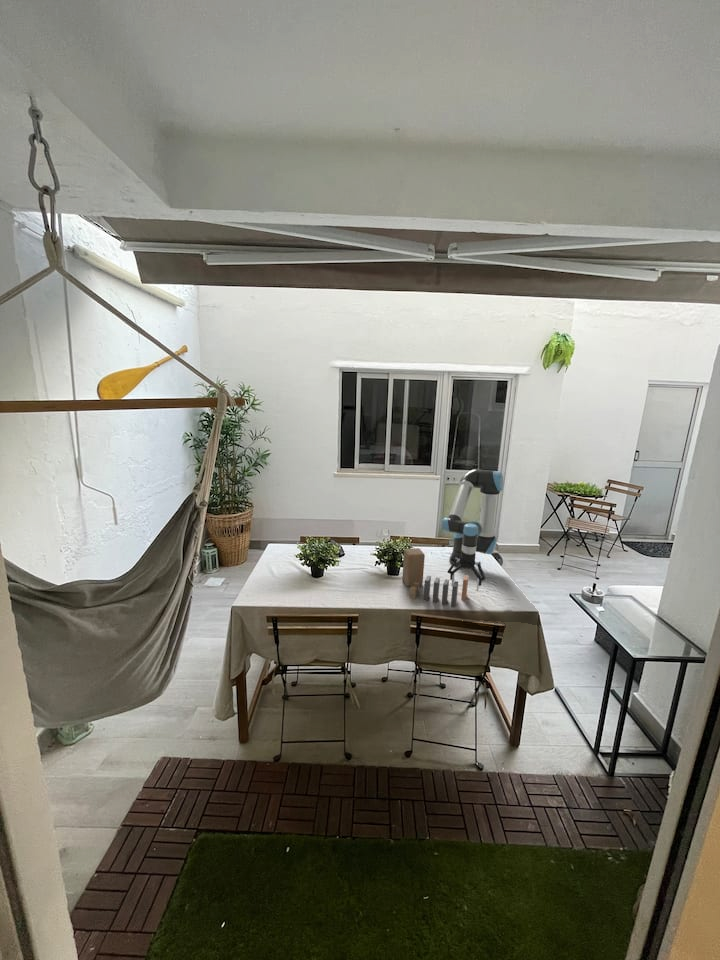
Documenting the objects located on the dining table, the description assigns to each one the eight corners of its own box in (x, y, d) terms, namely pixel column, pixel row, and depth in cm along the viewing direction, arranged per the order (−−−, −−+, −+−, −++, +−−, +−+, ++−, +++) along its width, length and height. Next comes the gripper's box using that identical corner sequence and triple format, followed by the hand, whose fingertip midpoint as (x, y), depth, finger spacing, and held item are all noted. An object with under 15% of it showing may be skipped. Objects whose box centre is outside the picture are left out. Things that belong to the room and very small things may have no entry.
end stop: (413, 591, 233) (414, 581, 232) (418, 592, 232) (419, 582, 230) (409, 597, 226) (410, 587, 224) (414, 599, 225) (415, 589, 223)
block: (406, 587, 237) (408, 555, 233) (401, 579, 247) (403, 548, 242) (423, 585, 239) (425, 554, 235) (417, 578, 249) (419, 547, 244)
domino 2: (432, 602, 222) (433, 582, 219) (434, 597, 227) (436, 577, 225) (435, 602, 221) (437, 582, 218) (438, 597, 227) (439, 578, 224)
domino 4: (450, 606, 218) (452, 586, 216) (452, 601, 224) (454, 581, 221) (454, 607, 218) (456, 586, 215) (456, 601, 223) (458, 581, 220)
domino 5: (461, 599, 226) (463, 579, 223) (463, 594, 231) (464, 574, 228) (465, 600, 225) (467, 580, 222) (466, 595, 231) (468, 575, 228)
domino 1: (423, 600, 224) (424, 580, 221) (425, 595, 229) (427, 575, 226) (426, 600, 223) (428, 580, 220) (429, 595, 229) (430, 576, 226)
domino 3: (441, 604, 220) (443, 584, 217) (443, 599, 226) (445, 579, 223) (445, 605, 219) (446, 584, 217) (447, 599, 225) (449, 580, 222)
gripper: (444, 550, 223) (441, 585, 228) (491, 559, 214) (487, 595, 219) (446, 545, 230) (443, 580, 235) (493, 553, 221) (488, 589, 225)
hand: (464, 587), depth 227 cm, fingers open, 13 cm apart
